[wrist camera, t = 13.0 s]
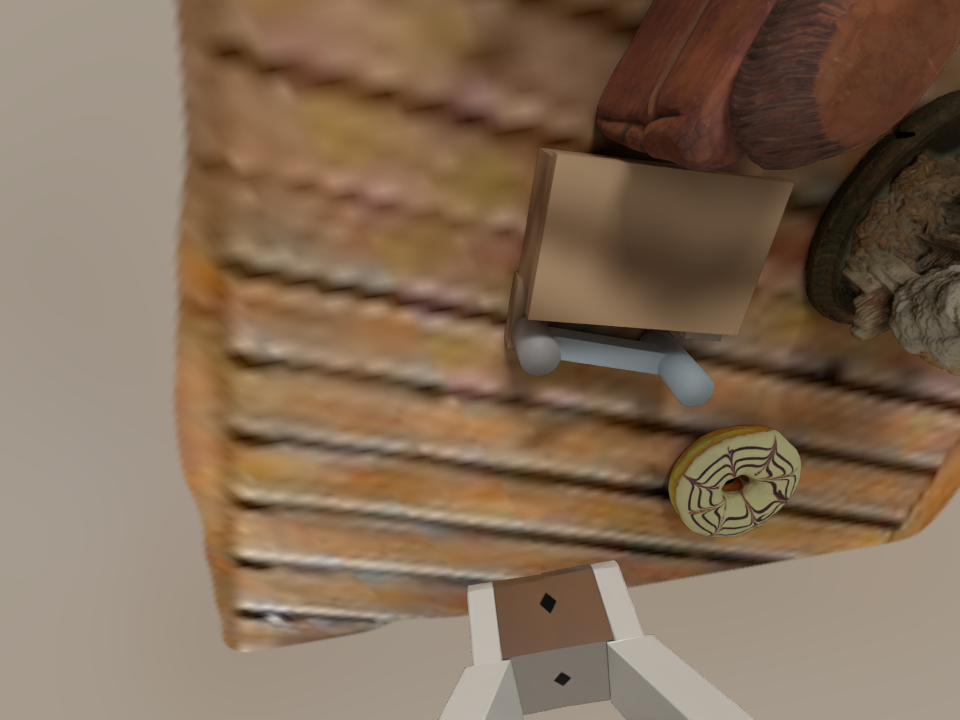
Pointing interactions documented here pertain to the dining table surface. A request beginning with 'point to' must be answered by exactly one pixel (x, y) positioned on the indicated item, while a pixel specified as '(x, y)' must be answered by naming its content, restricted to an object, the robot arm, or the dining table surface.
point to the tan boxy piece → (643, 244)
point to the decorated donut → (747, 500)
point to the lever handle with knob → (613, 356)
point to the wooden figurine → (773, 77)
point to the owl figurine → (898, 240)
